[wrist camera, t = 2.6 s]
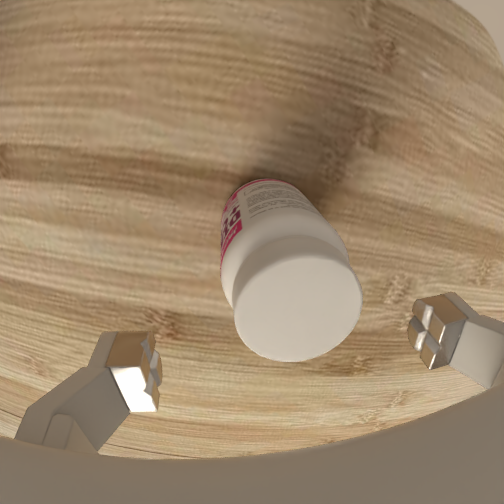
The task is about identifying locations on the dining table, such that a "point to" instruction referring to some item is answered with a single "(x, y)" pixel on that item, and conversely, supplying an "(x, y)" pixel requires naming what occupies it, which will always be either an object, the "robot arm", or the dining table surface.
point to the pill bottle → (286, 273)
